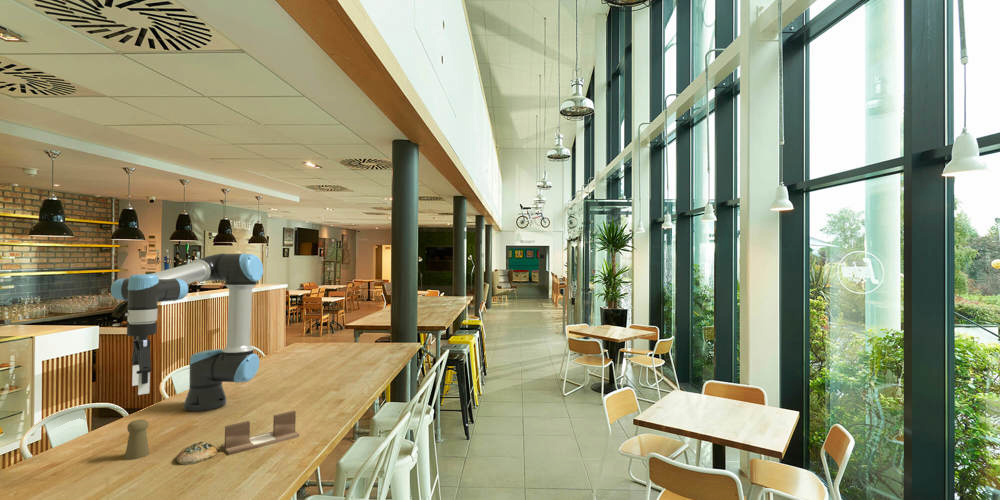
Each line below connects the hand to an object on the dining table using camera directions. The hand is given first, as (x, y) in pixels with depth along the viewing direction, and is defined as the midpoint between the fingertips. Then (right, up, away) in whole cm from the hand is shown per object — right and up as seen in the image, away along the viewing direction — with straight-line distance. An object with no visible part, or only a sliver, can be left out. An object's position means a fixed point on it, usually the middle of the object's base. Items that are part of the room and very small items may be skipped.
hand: (140, 389), depth 144 cm
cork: (-1, -21, -1) cm, 21 cm away
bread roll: (+19, -22, -1) cm, 29 cm away
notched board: (+33, -21, +11) cm, 41 cm away
